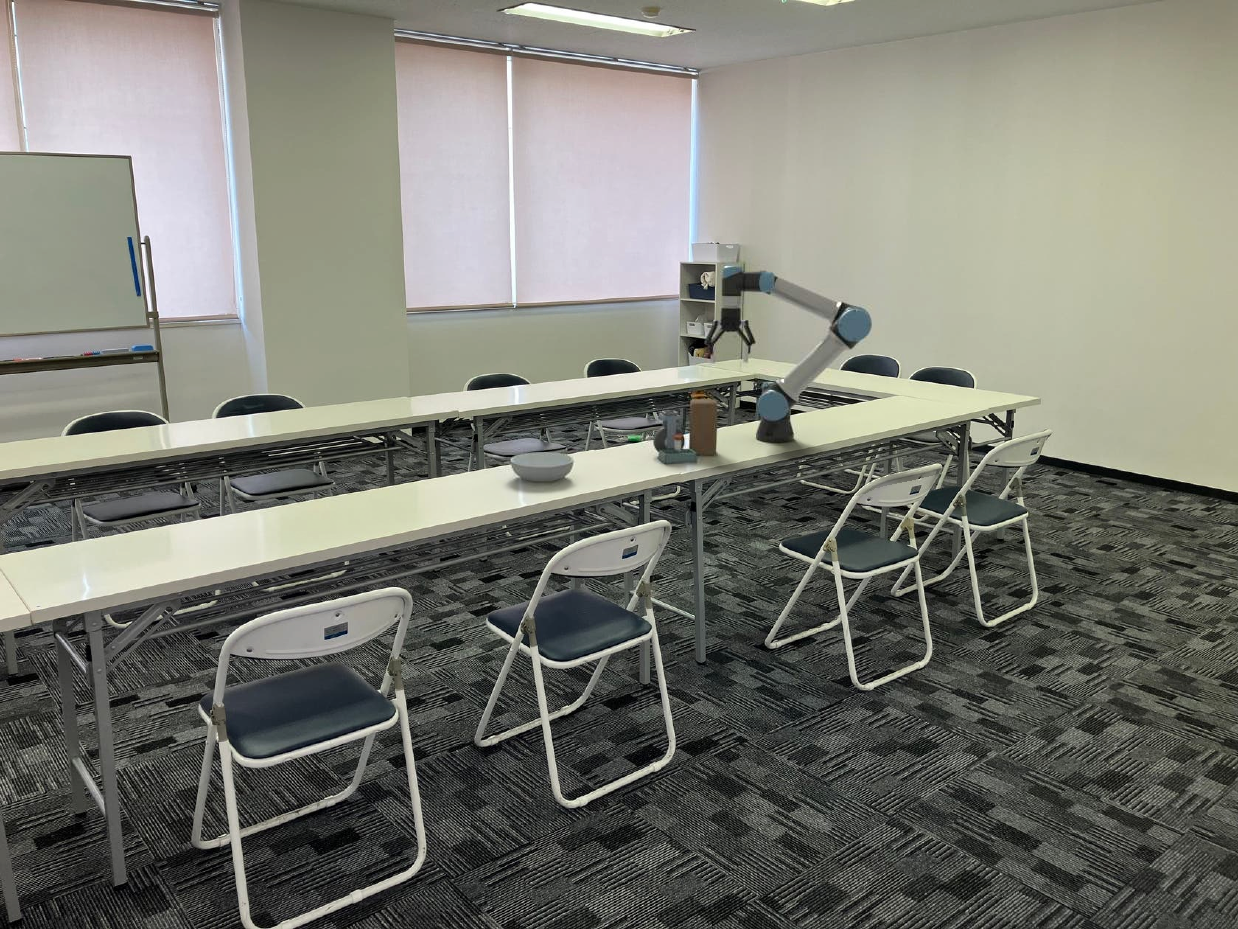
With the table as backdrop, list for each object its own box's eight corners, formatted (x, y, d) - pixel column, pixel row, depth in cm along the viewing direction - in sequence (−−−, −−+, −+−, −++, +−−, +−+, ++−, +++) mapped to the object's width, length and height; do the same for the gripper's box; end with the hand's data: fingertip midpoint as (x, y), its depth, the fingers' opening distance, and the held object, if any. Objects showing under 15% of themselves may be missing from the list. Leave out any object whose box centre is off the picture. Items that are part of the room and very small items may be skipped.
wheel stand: (680, 453, 348) (680, 409, 344) (685, 457, 342) (686, 412, 338) (651, 454, 345) (652, 411, 341) (657, 458, 339) (657, 413, 335)
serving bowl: (505, 486, 299) (505, 465, 297) (516, 471, 319) (516, 451, 318) (570, 487, 298) (570, 466, 296) (576, 472, 318) (576, 452, 316)
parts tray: (689, 457, 340) (690, 448, 339) (696, 462, 333) (697, 452, 332) (658, 459, 337) (658, 450, 336) (664, 464, 330) (665, 454, 329)
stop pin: (680, 458, 337) (681, 434, 335) (683, 460, 334) (684, 435, 332) (671, 458, 336) (672, 434, 334) (674, 460, 333) (675, 436, 331)
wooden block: (716, 457, 342) (717, 403, 337) (688, 456, 343) (690, 402, 338) (715, 451, 352) (717, 399, 347) (689, 450, 352) (690, 398, 348)
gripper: (757, 306, 361) (755, 360, 366) (696, 306, 355) (695, 362, 360) (765, 307, 354) (763, 363, 359) (703, 308, 348) (702, 364, 353)
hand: (729, 362), depth 359 cm, fingers open, 13 cm apart
